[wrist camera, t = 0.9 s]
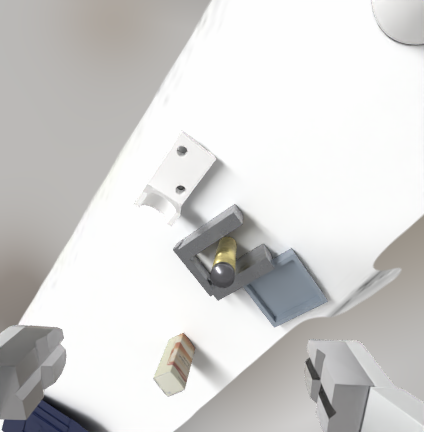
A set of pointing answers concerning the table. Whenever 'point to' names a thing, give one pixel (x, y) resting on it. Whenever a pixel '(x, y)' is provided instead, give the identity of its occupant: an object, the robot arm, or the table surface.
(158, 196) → the bracket
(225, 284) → the pin
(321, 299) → the tray
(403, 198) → the table surface
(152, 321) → the table surface
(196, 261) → the clevis block
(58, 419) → the navy flat slab
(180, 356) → the skincare box
